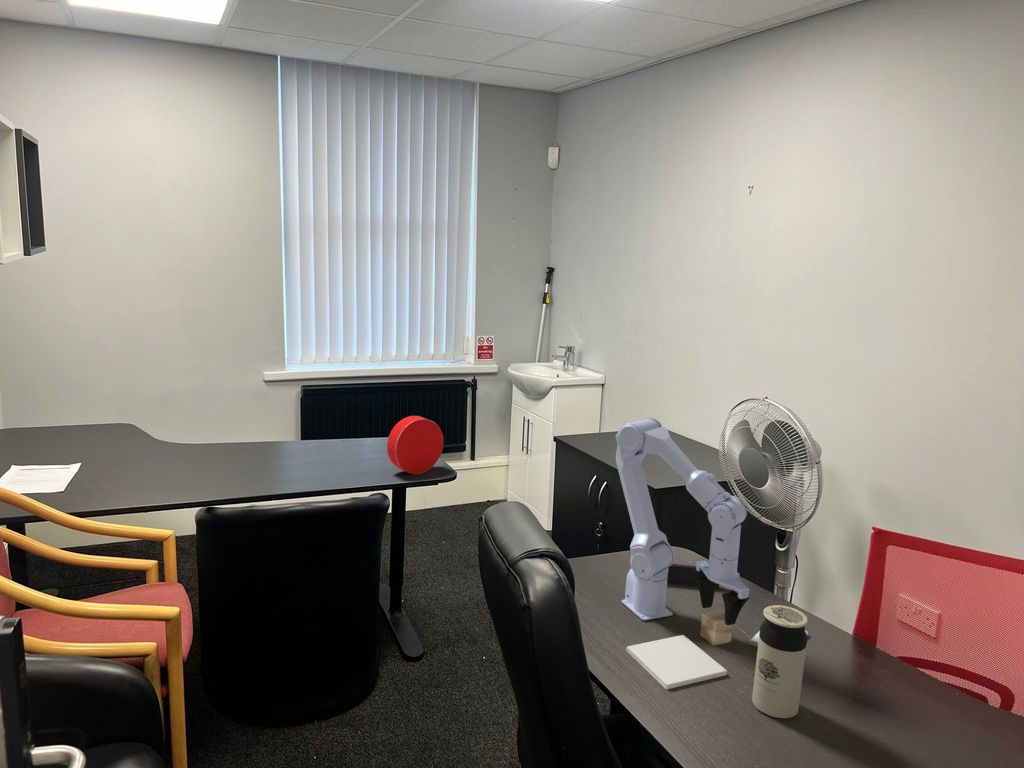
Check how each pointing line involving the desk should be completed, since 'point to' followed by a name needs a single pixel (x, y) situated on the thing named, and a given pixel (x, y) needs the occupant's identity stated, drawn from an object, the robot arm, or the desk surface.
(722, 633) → the oak block
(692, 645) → the board
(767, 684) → the travel mug
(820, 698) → the desk surface
